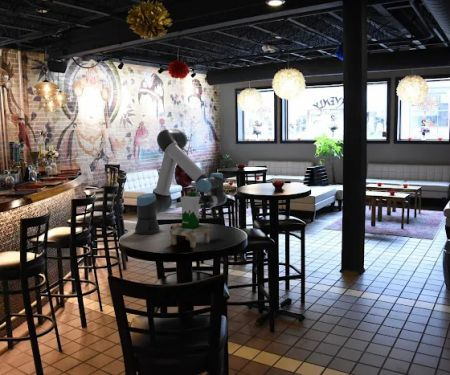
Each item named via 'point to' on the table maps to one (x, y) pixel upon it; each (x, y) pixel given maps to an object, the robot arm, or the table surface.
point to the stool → (190, 234)
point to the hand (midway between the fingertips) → (186, 206)
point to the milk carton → (190, 211)
